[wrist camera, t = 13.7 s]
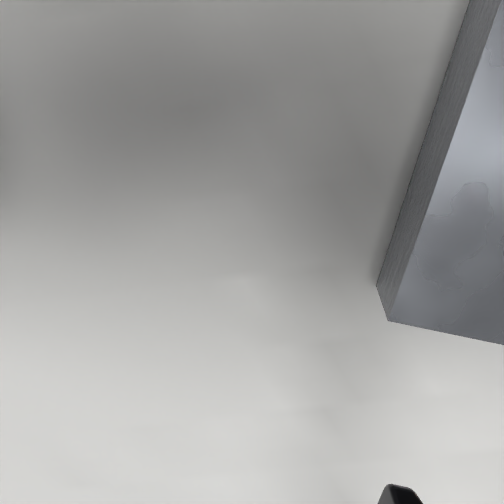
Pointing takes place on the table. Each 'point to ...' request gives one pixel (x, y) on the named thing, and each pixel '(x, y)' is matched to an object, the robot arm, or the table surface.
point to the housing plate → (456, 198)
